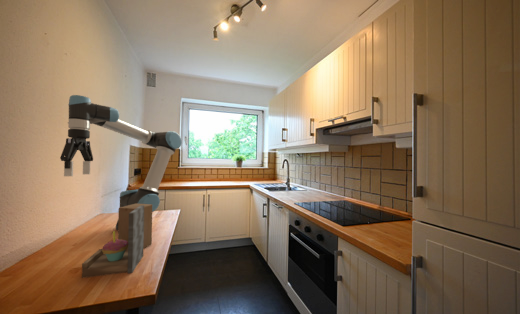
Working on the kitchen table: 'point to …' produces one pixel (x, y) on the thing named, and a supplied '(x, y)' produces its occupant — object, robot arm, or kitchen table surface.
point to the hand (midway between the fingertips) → (78, 175)
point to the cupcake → (115, 249)
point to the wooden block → (124, 223)
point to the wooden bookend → (131, 258)
